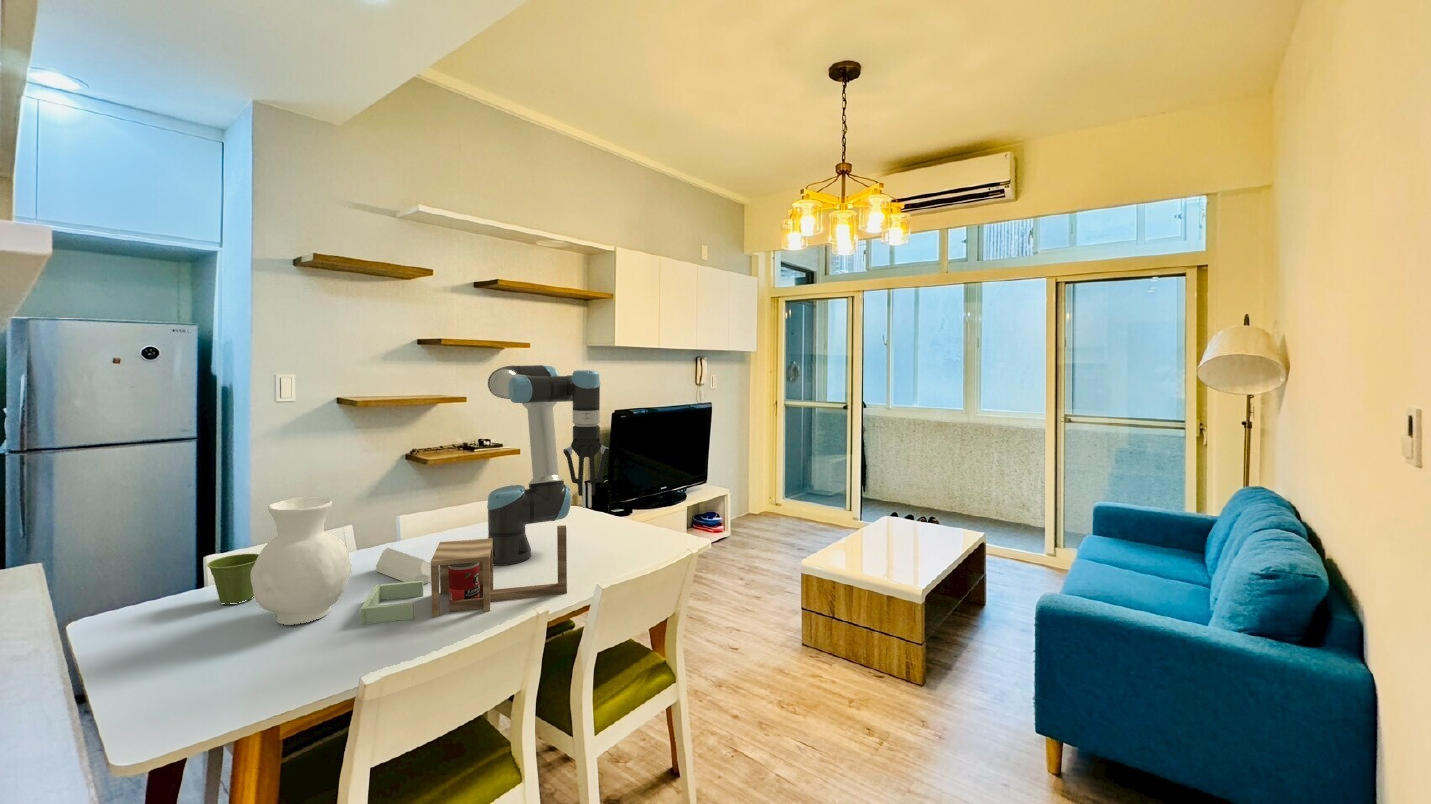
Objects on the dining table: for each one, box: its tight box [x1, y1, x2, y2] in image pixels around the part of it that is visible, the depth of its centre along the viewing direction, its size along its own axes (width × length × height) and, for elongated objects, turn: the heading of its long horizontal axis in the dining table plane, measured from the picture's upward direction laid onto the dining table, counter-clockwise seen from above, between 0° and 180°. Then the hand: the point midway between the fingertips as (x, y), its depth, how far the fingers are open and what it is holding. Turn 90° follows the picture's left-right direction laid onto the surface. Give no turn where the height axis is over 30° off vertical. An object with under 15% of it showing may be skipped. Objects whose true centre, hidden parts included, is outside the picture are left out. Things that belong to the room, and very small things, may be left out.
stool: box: [430, 537, 494, 618], centre depth 166 cm, size 16×14×15 cm
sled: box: [449, 525, 568, 613], centre depth 169 cm, size 12×30×19 cm, turn 107°
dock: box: [359, 581, 425, 625], centre depth 161 cm, size 16×12×4 cm
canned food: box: [448, 562, 481, 603], centre depth 166 cm, size 8×8×11 cm
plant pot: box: [206, 553, 260, 605], centre depth 165 cm, size 12×12×11 cm
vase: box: [251, 496, 352, 626], centre depth 154 cm, size 19×21×30 cm
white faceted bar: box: [375, 547, 431, 586], centre depth 184 cm, size 7×7×24 cm
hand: (586, 506), depth 174 cm, fingers closed
